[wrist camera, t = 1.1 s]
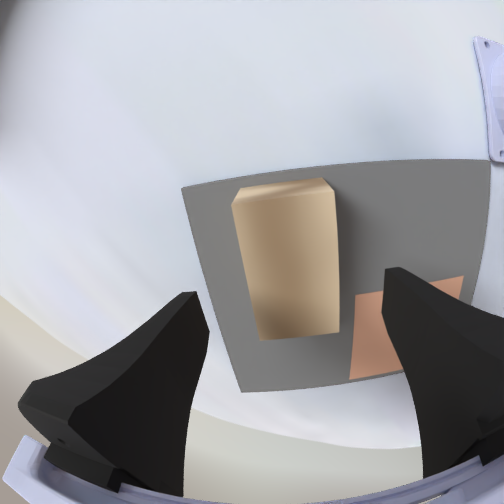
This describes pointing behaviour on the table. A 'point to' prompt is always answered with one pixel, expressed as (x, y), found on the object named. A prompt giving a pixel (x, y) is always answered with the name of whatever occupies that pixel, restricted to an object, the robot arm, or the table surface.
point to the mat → (347, 262)
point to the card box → (290, 256)
